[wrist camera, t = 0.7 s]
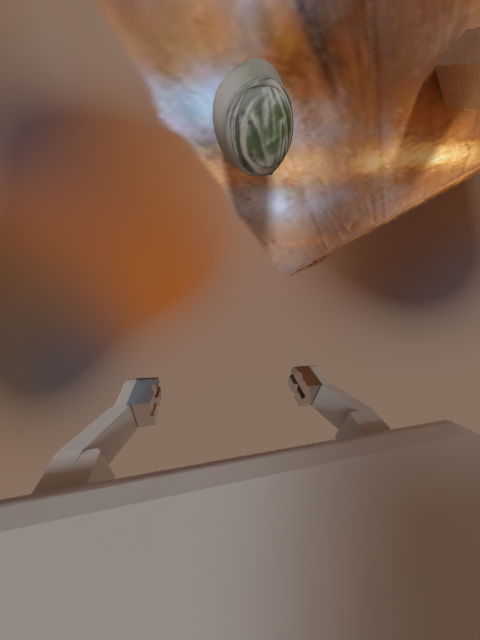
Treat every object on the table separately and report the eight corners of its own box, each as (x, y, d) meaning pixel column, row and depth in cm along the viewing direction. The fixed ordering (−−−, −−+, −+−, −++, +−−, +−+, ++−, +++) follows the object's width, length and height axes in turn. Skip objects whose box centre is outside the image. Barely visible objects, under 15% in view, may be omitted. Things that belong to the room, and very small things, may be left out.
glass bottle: (276, 122, 36) (326, 158, 19) (233, 159, 40) (245, 215, 23) (251, 45, 29) (298, -3, 12) (203, 99, 33) (189, 119, 16)
